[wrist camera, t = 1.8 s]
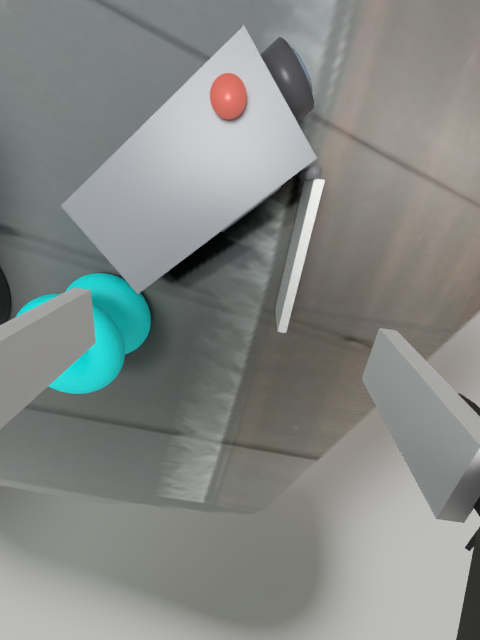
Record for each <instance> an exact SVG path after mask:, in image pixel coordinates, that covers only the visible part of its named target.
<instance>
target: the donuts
mask: <svg viewBox="0 0 480 640" xmlns="http://www.w3.org/2000/svg"><path fill="white" fill-rule="evenodd" d="M72 288H81V289H89V290H91V298H92V308H93V319H94V329H95V339H96V343H95V344H94V345H93V346H92V347H91V348H90V349H89V350H88V351H86V352H85V353H84V354H83V355H82V356H81V357H80V358H79V359H78V360H76V361H75V362H74V363H73V364H72V365H71V366H70V367H69V368H68V369H67V370H65V371H64V372H63V373H62V374H61V375H60V376H59V377H58V378H57V379H56V380H54V381H53V382H52V383H51V384H50V385H49V386H48V387H50V388H53V389H55V390H58V391H62V392H66V393H72V394H84V393H90V392H94V391H97V390H100V389H102V388H104V387H105V386H107V385H108V384H110V383H111V382H112V381H113V380H114V379H115V378H116V377H117V375H118V374H119V372H120V371H121V368H122V366H123V363H124V359H125V354H128V353H130V352H132V351H134V350H136V349H137V348H138V347H140V346H141V345H142V343H143V342H144V341H145V339H146V338H147V336H148V334H149V331H150V326H151V315H150V310H149V307H148V305H147V302H146V301H145V299H144V297H143V296H142V294H141V293H139V294H137V293H136V292H135V290H134V289H133V288H132V287H131V286H130V285H129V284H128V282H127V281H126V280H124V279H122V278H120V277H118V276H115V275H112V274H107V273H92V274H88V275H85V276H82V277H80V278H78V279H77V280H75V281H74V282H73V283H72V284H71V285H70V286H69V287H68V288H67V290H66V291H68V290H70V289H72ZM66 291H65V292H66ZM59 295H60V294H59V293H58V294H48V295H44V296H40V297H38V298H36V299H34V300H32V301H30V302H28V303H27V304H26V305H25V306H24V307H23V308H22V309H21V310H20V311H19V312H18V314H17V315H16V317H17V316H19V315H21V314H23V313H25V312H27V311H29V310H31V309H33V308H35V307H37V306H39V305H41V304H43V303H45V302H47V301H49V300H51V299H53V298H55V297H57V296H59Z"/></svg>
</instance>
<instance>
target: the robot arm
mask: <svg viewBox="0 0 480 640" xmlns="http://www.w3.org/2000/svg"><path fill="white" fill-rule="evenodd" d="M9 311H10V296H9V291H8V287H7V284H6V281H5V278H4V276H3V274H2V272H1V270H0V429H2V428H3V427H4V426H5V425H6V424H7V423H8V422H9V421H10V420H12V419H13V418H14V417H15V416H16V415H17V414H18V413H19V412H20V411H21V410H23V409H24V408H25V407H26V406H27V405H28V404H29V403H30V402H31V401H32V400H34V399H35V398H36V397H37V396H38V395H39V394H40V393H41V392H42V391H43V390H45V389H46V388H47V387H48V386H49V385H50V384H51V383H52V382H53V381H54V380H56V379H57V378H58V377H59V376H60V375H61V374H62V373H63V372H64V371H65V370H67V369H68V368H69V367H70V366H71V365H72V364H73V363H74V362H75V361H76V360H78V359H79V358H80V357H81V356H82V355H83V354H84V353H85V352H86V351H87V350H89V349H90V348H91V347H92V346H93V345H94V344H95V343H96V339H95V329H94V319H93V308H92V298H91V290H89V289H81V288H72V289H70V290H68V291H66V292H64V293H62V294H60V295H59V296H57V297H55V298H53V299H51V300H49V301H47V302H45V303H43V304H41V305H39V306H37V307H35V308H33V309H31V310H29V311H27V312H25V313H23V314H21V315H19V316H17V317H15V318H13V319H11V320H9V321H7V318H8V315H9ZM6 321H7V322H6ZM362 380H363V382H364V384H365V386H366V388H367V390H368V392H369V394H370V395H371V397H372V399H373V401H374V403H375V405H376V407H377V409H378V410H379V412H380V414H381V416H382V418H383V420H384V422H385V424H386V425H387V427H388V429H389V431H390V433H391V435H392V437H393V439H394V440H395V442H396V444H397V446H398V448H399V450H400V452H401V454H402V456H403V457H404V459H405V461H406V463H407V465H408V467H409V468H410V470H411V472H412V474H413V476H414V478H415V480H416V482H417V484H418V486H419V487H420V489H421V491H422V493H423V495H424V497H425V499H426V501H427V502H428V504H429V506H430V508H431V510H432V512H433V514H434V516H435V517H436V519H442V520H449V521H456V522H463V523H464V522H465V520H466V519H467V517H468V516H469V514H470V513H471V511H472V510H473V508H474V509H475V510H476V511H477V513H478V514H479V516H480V408H479V407H478V406H477V405H476V404H475V403H473V402H471V401H470V400H469V399H467V398H466V397H464V396H462V395H461V394H459V393H457V392H456V391H454V389H453V388H452V387H451V386H450V385H449V384H448V383H447V382H446V381H445V380H444V379H443V378H442V377H441V376H440V375H439V374H438V373H437V372H436V371H435V370H434V369H433V368H432V367H431V366H430V365H429V364H428V363H427V362H426V360H425V359H424V358H423V357H422V356H421V355H420V354H419V353H418V352H417V351H416V350H415V349H414V348H413V347H412V346H411V345H410V344H409V343H408V342H407V341H406V340H405V339H404V338H403V337H402V336H401V335H400V334H399V333H398V332H397V331H396V330H389V329H382V328H379V330H378V333H377V336H376V339H375V342H374V345H373V348H372V351H371V354H370V356H369V359H368V362H367V365H366V368H365V371H364V374H363V377H362ZM473 547H474V550H473V555H472V561H471V566H470V571H469V576H468V581H467V587H466V592H465V597H464V603H463V608H462V613H461V618H460V624H459V629H458V634H457V639H456V640H480V527H479V529H478V530H477V531H476V533H475V534H474V536H473V537H472V538H471V540H470V541H469V543H468V544H467V546H466V547H465V548H466V549H467V550H469V551H470V550H471V549H472V548H473Z"/></svg>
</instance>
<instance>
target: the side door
mask: <svg viewBox="0 0 480 640" xmlns="http://www.w3.org/2000/svg"><path fill="white" fill-rule="evenodd" d="M321 173H322V169H321V167H320V166H319V165H313V166H311V167H309V168H307V169H305V170H304V171H302V172H300V174H299V179H300V180H301V181H304V185H303V189H302V194H301V198H300V202H299V207H298V211H297V216H296V220H295V224H294V229H293V233H292V237H291V242H290V246H289V251H288V255H287V259H286V264H285V268H284V273H283V277H282V281H281V286H280V290H279V295H278V299H277V303H276V308H275V313H276V322H277V331H278V332H282V333H286V332H287V328H288V324H289V320H290V316H291V312H292V308H293V304H294V300H295V296H296V292H297V288H298V284H299V280H300V276H301V272H302V269H303V265H304V261H305V257H306V253H307V249H308V245H309V241H310V237H311V233H312V229H313V225H314V221H315V217H316V213H317V209H318V206H319V202H320V198H321V194H322V190H323V186H324V182H325V180H321V179H316V178H318V177H319V176H320V175H321Z"/></svg>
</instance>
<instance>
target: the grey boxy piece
mask: <svg viewBox="0 0 480 640" xmlns="http://www.w3.org/2000/svg"><path fill="white" fill-rule="evenodd" d="M313 108H314V100H313V95H312V85H311V81H310V78H309V75H308V72H307V70H306V68H305V66H304V64H303V62H302V60H301V58H300V57H299V55H298V54H297V52H296V51H295V50H294V49H293V48H291V47H290V46H289V44H288V43H287V42H286V41H285V40H284V39H283V38H281V37H279V38H278V39H277V40H276V41H275V42H273V43H272V44H271V45H270V46H269V47H268V48H267V49H266V50H265V51H264V52H263V53H262V54H261V55H260V54H259V52H258V50H257V48H256V46H255V45H254V43H253V41H252V39H251V37H250V36H249V34H248V32H247V30H246V28H245V27H244V26H243V27H242V28H241V29H240V30H239V31H238V32H237V33H236V34H235V35H234V36H233V37H232V38H231V39H230V40H229V41H228V42H227V43H226V44H225V45H224V46H223V47H221V48H220V49H219V50H218V51H217V52H216V53H215V54H214V55H213V56H212V57H211V58H210V59H209V60H208V61H207V62H206V63H205V64H204V65H203V66H202V67H201V68H200V69H199V70H198V71H197V72H196V73H195V74H194V75H193V76H192V77H191V78H190V79H189V80H188V81H187V82H186V83H185V84H184V85H183V86H182V87H181V88H180V89H179V90H178V91H177V92H176V93H175V94H174V95H173V96H172V97H171V98H170V99H169V100H168V101H167V102H166V103H165V104H164V105H163V106H162V107H161V108H160V109H159V110H158V111H156V112H155V113H154V114H153V115H152V116H151V117H150V118H149V119H148V120H147V121H146V122H145V123H144V124H143V125H142V126H141V127H140V128H139V129H138V130H137V131H136V132H135V133H134V134H133V135H132V136H131V137H130V138H129V139H128V140H127V141H126V142H125V143H124V144H123V145H122V146H121V147H120V148H119V149H118V150H117V151H116V152H115V153H114V154H113V155H112V156H111V157H110V158H109V159H108V160H107V161H106V162H105V163H104V164H103V165H102V166H101V167H100V168H99V169H98V170H97V171H96V172H95V173H94V174H93V175H91V176H90V177H89V178H88V179H87V180H86V181H85V182H84V183H83V184H82V185H81V186H80V187H79V188H78V189H77V190H76V191H75V192H74V193H73V194H72V195H71V196H70V197H69V198H68V199H67V200H66V201H65V202H64V203H63V204H62V205H61V207H62V208H63V209H64V210H65V211H66V212H67V214H68V215H69V216H70V217H71V218H72V219H73V221H74V222H75V223H76V224H77V225H78V226H79V227H80V229H81V230H82V231H83V232H84V233H85V234H86V235H87V237H88V238H89V239H90V240H91V241H92V242H93V243H94V245H95V246H96V247H97V248H98V249H99V250H100V251H101V253H102V254H103V255H104V256H105V257H106V258H107V259H108V261H109V262H110V263H111V264H112V265H113V266H114V267H115V269H116V270H117V271H118V272H119V273H120V274H121V275H122V277H123V278H124V279H125V280H126V281H127V282H128V284H129V285H130V286H131V287H132V288H133V289H134V290H135V292H136V293H137V294H139V293H140V292H141V291H143V290H144V289H145V288H147V287H148V286H149V285H151V284H152V283H153V282H155V281H156V280H157V279H158V278H160V277H161V276H162V275H164V274H165V273H166V272H168V271H169V270H170V269H172V268H173V267H174V266H176V265H177V264H178V263H180V262H181V261H182V260H184V259H185V258H186V257H187V256H189V255H190V254H191V253H193V252H194V251H195V250H197V249H198V248H199V247H201V246H202V245H203V244H205V243H206V242H207V241H209V240H210V239H211V238H212V237H214V236H215V235H216V234H218V233H219V232H220V231H221V232H224V231H225V230H226V229H228V228H229V227H230V226H232V225H233V224H234V223H235V222H237V221H238V220H239V219H241V218H242V217H243V216H245V215H246V214H247V213H249V212H250V211H251V210H253V209H254V208H255V207H257V206H258V205H259V204H261V203H262V202H263V201H265V200H266V199H267V198H269V197H270V196H271V195H273V194H274V193H275V192H276V191H278V190H279V189H280V188H281V187H280V186H281V185H282V184H284V183H285V182H286V181H288V180H289V179H290V178H292V177H293V176H294V175H295V174H297V173H298V172H299V171H301V170H302V169H303V168H305V167H306V166H307V165H309V164H310V163H311V162H313V161H314V160H315V159H317V157H316V155H315V153H314V152H313V150H312V148H311V146H310V144H309V143H308V141H307V139H306V137H305V135H304V133H303V132H302V130H301V128H300V126H299V124H298V123H297V122H298V121H299V120H300V119H301V118H303V117H304V116H305V115H306V114H308V113H309V112H310V111H311V110H312V109H313Z"/></svg>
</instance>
